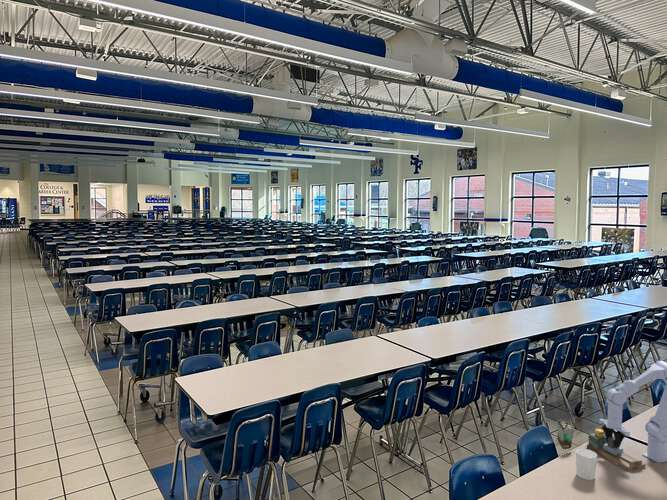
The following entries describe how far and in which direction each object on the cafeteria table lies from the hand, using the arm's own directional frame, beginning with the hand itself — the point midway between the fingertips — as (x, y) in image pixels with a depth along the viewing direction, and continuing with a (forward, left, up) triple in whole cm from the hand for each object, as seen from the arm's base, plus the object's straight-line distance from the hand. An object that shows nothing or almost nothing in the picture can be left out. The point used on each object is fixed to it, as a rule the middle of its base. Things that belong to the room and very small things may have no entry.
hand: (613, 444), depth 219 cm
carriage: (0, 0, -3) cm, 3 cm away
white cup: (+26, +10, -6) cm, 28 cm away
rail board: (0, +1, -5) cm, 5 cm away
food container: (+12, -15, -6) cm, 20 cm away
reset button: (0, -7, -1) cm, 8 cm away
